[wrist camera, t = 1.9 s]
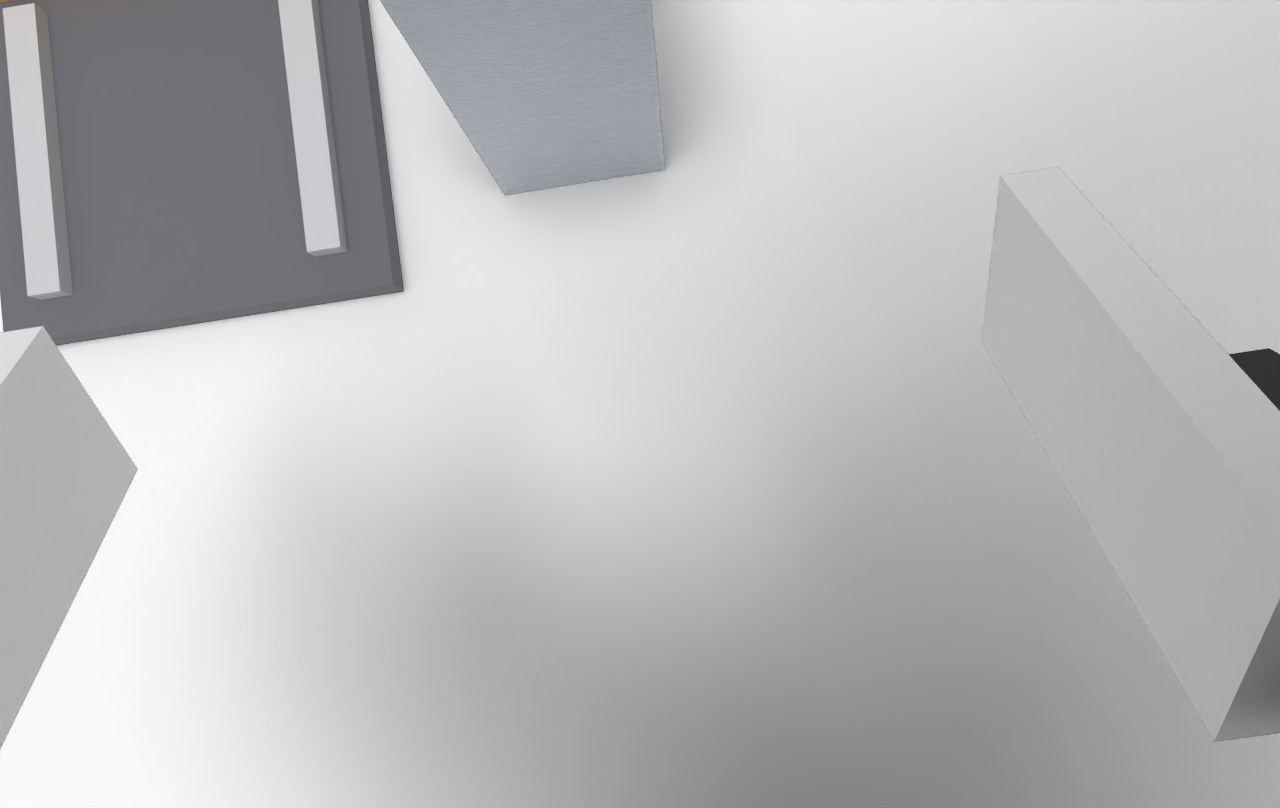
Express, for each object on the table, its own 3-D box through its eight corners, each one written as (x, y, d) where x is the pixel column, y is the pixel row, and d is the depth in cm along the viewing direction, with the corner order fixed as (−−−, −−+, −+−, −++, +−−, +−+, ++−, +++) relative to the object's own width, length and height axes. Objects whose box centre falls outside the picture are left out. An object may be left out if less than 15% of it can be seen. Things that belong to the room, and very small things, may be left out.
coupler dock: (357, -76, 31) (307, -160, 27) (403, 291, 29) (358, 260, 25) (-4, -14, 31) (-106, -87, 27) (27, 349, 30) (-75, 328, 26)
